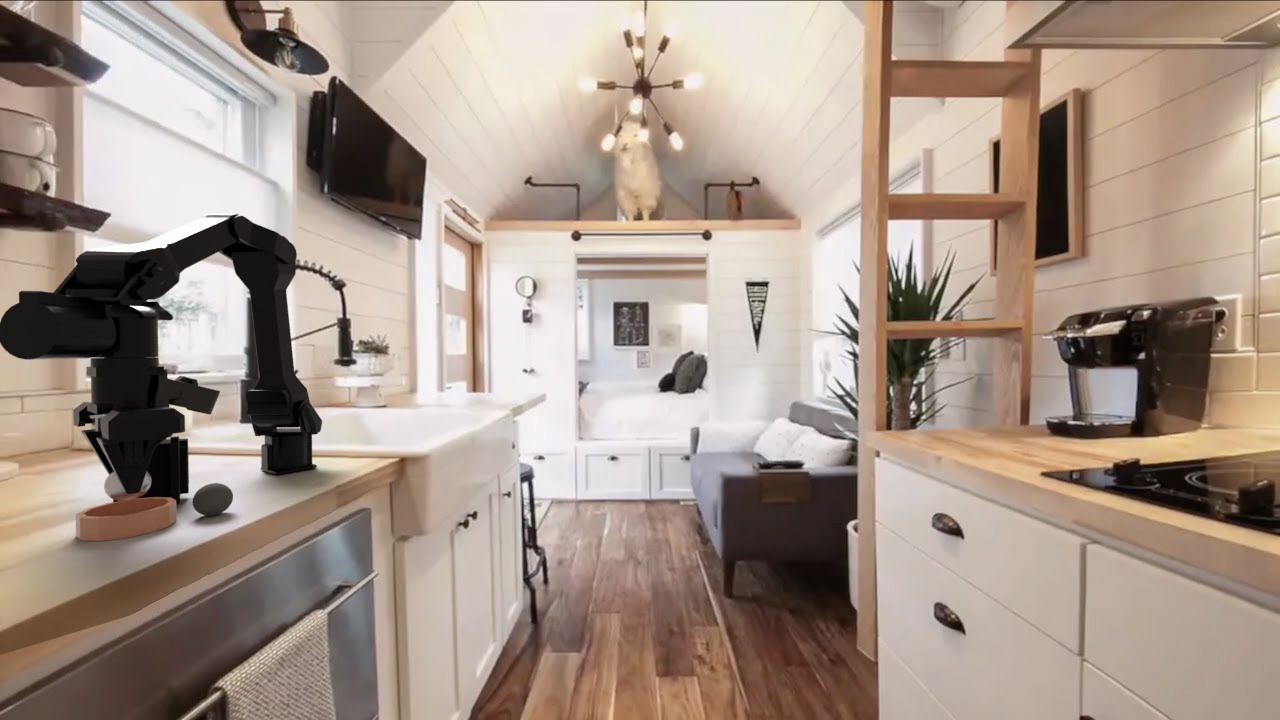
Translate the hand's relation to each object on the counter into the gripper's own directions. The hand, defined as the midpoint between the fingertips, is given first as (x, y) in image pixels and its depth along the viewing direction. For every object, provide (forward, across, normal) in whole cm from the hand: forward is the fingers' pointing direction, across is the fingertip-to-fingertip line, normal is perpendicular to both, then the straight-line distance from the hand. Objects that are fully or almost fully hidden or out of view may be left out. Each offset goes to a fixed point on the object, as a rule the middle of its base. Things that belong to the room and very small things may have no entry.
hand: (128, 490), depth 62 cm
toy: (-3, +7, -3) cm, 8 cm away
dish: (+4, 0, 0) cm, 5 cm away
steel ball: (-1, 0, 0) cm, 1 cm away
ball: (+2, -2, -8) cm, 8 cm away
